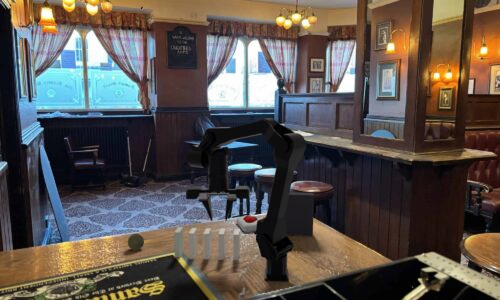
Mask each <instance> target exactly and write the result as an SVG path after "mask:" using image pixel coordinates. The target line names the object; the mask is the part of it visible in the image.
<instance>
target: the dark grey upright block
mask: <svg viewBox="0 0 500 300" xmlns="http://www.w3.org/2000/svg"><path fill="white" fill-rule="evenodd" d="M314 207H315V196H314V192H294V191H293V192H292V191H290V193H289V197H288V202H287V206H286V211H285V216H284V219H285V223H286V226H287V229H286V234H287V236H303V237H305V236H306V237H307V236H309V237H310V236H311V237H313V236H314V213H315V212H314Z"/></svg>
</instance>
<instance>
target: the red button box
mask: <svg viewBox="0 0 500 300" xmlns="http://www.w3.org/2000/svg"><path fill="white" fill-rule="evenodd" d="M260 219H261V218H258V217H256V216H255V215H245V216H238V217H237V218H236V222H235V223H236V224H237V225H238V227H240V230H242V231H243V232H244V233H253V232H254V231H256V227H257V221H258V220H260ZM254 233H255V232H254Z"/></svg>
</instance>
